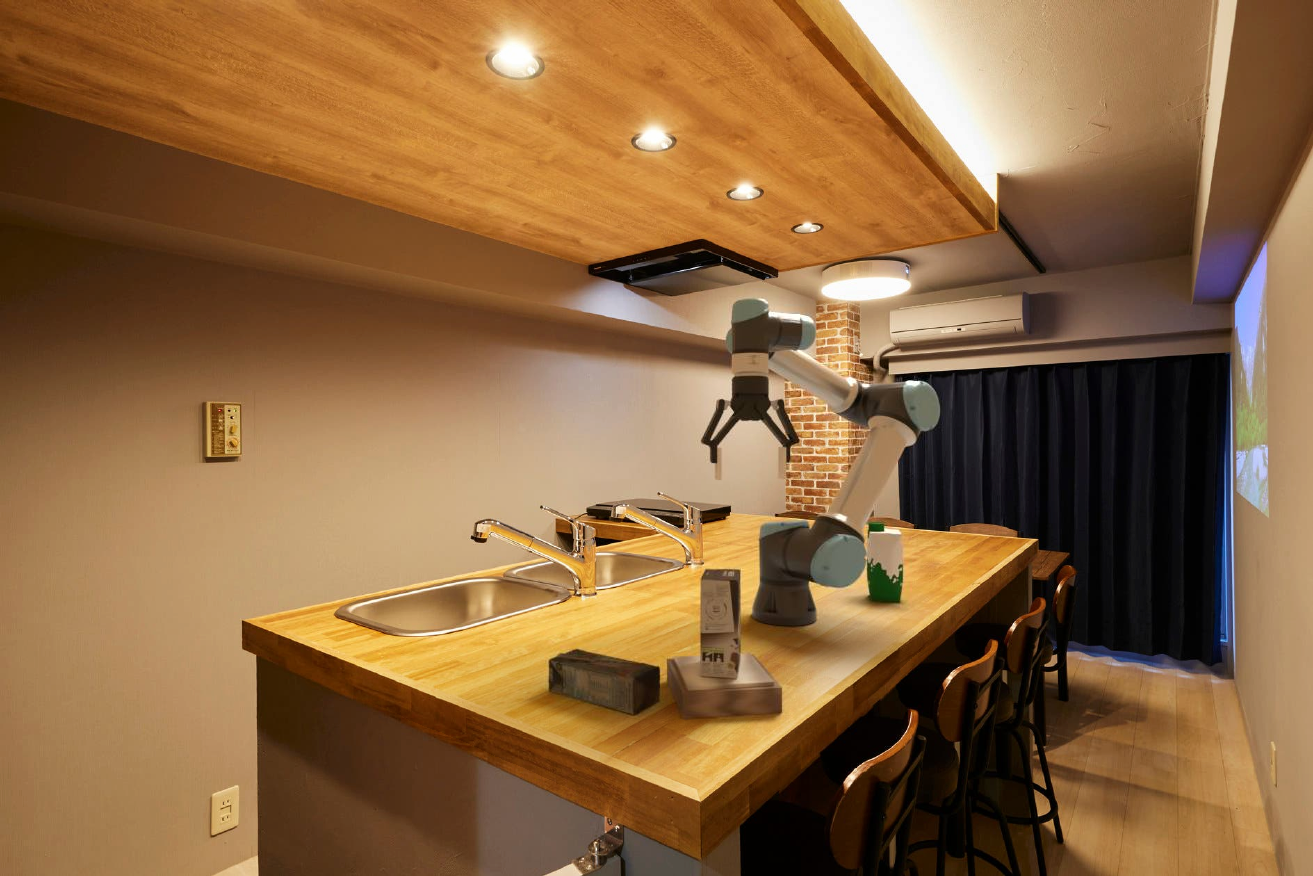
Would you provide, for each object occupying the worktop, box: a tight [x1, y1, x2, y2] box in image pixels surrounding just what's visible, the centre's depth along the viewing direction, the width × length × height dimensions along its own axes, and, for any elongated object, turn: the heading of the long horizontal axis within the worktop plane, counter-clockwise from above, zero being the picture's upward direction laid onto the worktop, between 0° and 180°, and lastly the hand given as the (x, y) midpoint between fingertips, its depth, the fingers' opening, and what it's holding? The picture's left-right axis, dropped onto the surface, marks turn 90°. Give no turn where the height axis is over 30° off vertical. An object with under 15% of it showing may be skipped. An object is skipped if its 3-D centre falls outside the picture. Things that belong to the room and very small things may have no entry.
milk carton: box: [866, 521, 904, 603], centre depth 179 cm, size 9×9×20 cm
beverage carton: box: [547, 648, 661, 716], centre depth 114 cm, size 8×19×6 cm, turn 56°
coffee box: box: [699, 568, 742, 679], centre depth 114 cm, size 9×6×16 cm
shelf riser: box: [666, 652, 783, 720], centre depth 114 cm, size 16×16×5 cm
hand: (750, 479), depth 139 cm, fingers open, 13 cm apart
